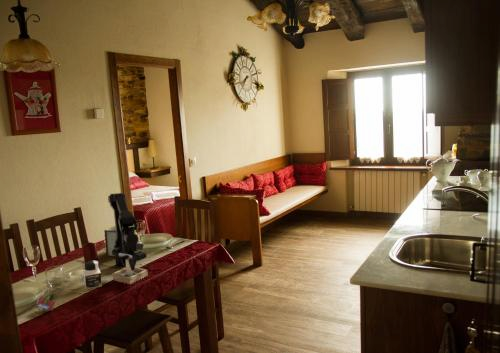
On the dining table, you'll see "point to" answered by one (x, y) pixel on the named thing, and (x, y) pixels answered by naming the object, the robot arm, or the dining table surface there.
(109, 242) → the protein box
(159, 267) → the dining table surface
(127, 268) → the peg
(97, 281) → the medicine bottle
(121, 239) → the robot arm
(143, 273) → the crate
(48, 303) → the geometric puzzle
